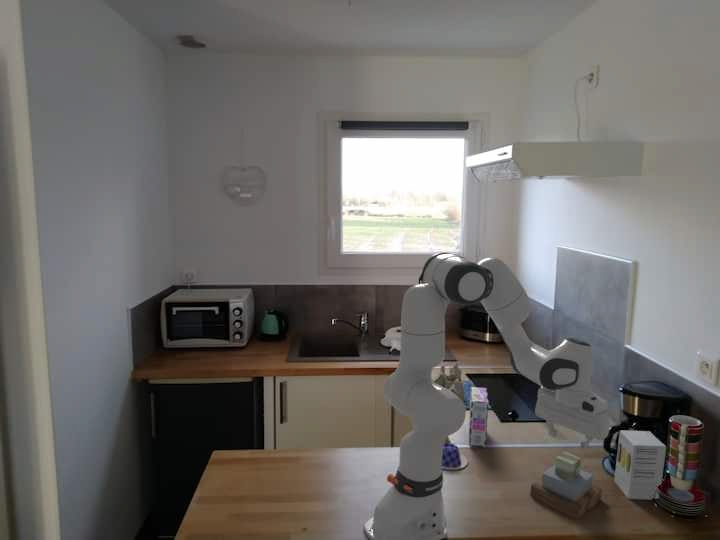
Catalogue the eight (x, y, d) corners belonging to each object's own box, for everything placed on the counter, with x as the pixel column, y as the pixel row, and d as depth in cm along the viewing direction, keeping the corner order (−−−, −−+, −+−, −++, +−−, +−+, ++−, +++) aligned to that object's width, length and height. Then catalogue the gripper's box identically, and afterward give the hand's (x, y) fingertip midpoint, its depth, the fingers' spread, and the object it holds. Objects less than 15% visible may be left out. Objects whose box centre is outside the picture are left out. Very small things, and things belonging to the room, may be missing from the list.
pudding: (430, 450, 175) (431, 436, 174) (466, 454, 173) (467, 439, 172) (429, 469, 163) (430, 454, 162) (468, 473, 161) (469, 457, 160)
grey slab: (575, 501, 141) (577, 488, 141) (541, 485, 149) (542, 473, 148) (591, 487, 148) (592, 474, 148) (558, 473, 155) (559, 461, 155)
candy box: (486, 448, 177) (488, 402, 174) (468, 446, 178) (471, 400, 175) (484, 429, 190) (487, 387, 187) (468, 428, 191) (470, 385, 188)
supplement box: (613, 480, 158) (618, 429, 155) (643, 481, 158) (649, 430, 155) (628, 499, 148) (634, 445, 146) (660, 500, 148) (667, 446, 146)
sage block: (571, 481, 144) (572, 464, 143) (554, 473, 148) (556, 457, 147) (580, 474, 147) (581, 458, 147) (563, 467, 151) (564, 451, 150)
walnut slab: (576, 521, 139) (578, 507, 139) (530, 497, 150) (531, 484, 149) (600, 501, 148) (601, 488, 148) (555, 480, 159) (556, 468, 158)
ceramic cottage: (432, 387, 229) (434, 356, 225) (469, 395, 222) (472, 363, 219) (421, 402, 215) (423, 369, 212) (460, 411, 209) (463, 377, 205)
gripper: (533, 386, 150) (529, 431, 152) (603, 410, 135) (598, 460, 137) (544, 382, 154) (540, 425, 156) (614, 404, 139) (608, 452, 141)
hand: (568, 442), depth 146 cm, fingers open, 8 cm apart
